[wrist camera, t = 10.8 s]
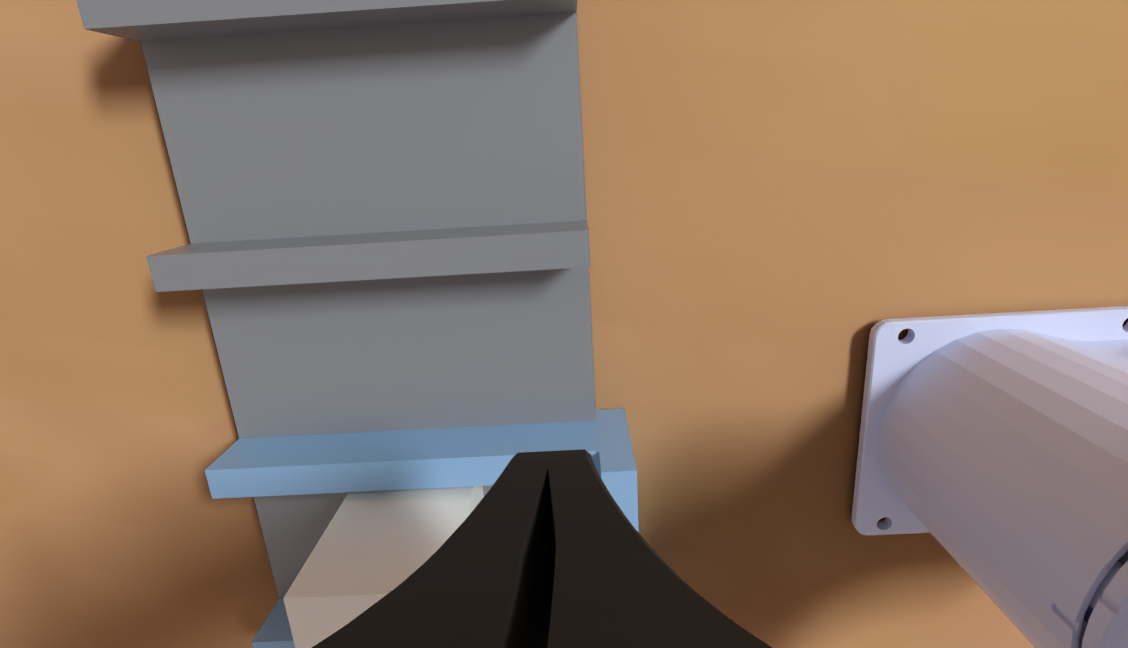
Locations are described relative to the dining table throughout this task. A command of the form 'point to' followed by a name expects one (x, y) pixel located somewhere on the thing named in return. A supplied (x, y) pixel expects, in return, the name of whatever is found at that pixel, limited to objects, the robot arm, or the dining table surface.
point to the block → (371, 554)
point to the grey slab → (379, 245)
